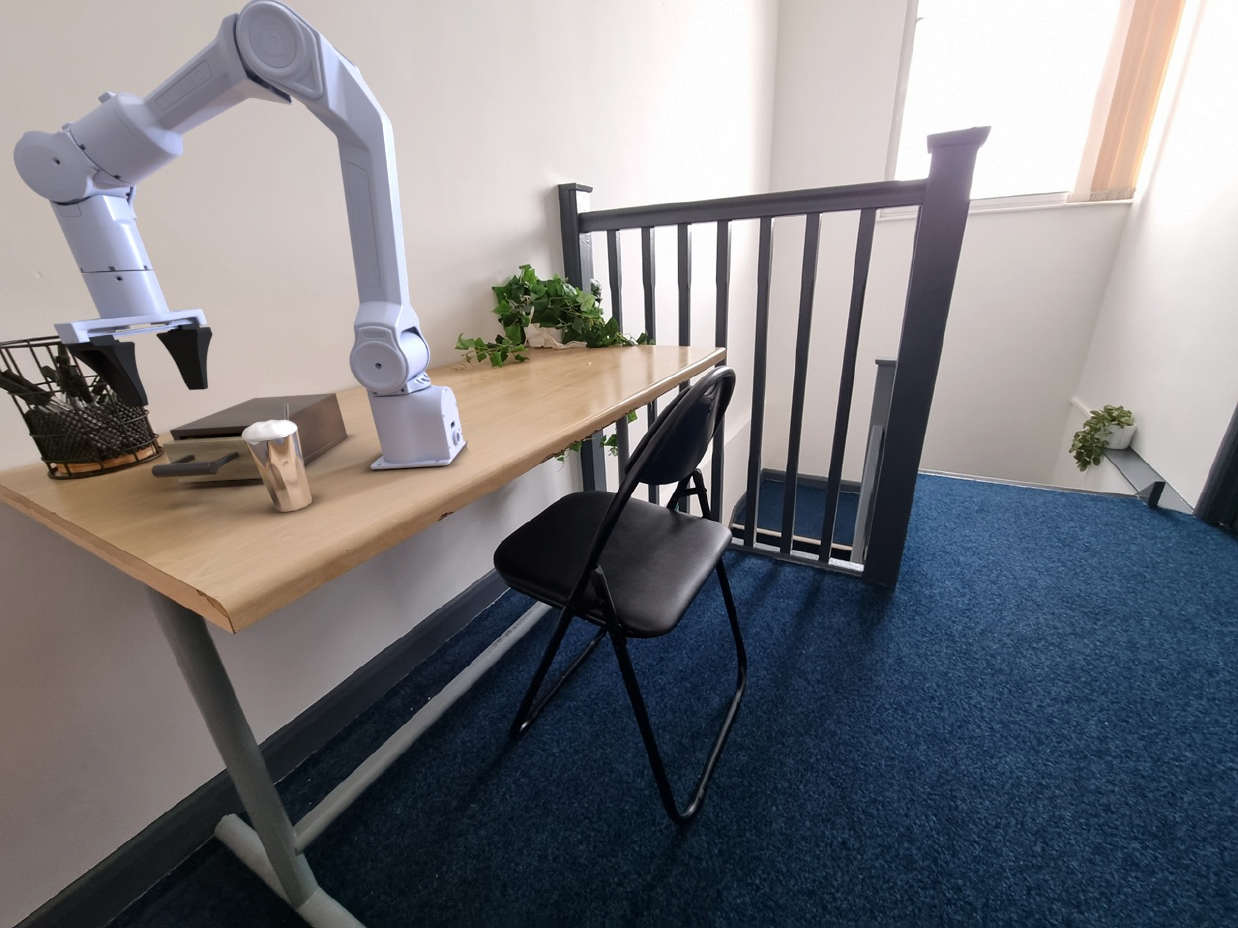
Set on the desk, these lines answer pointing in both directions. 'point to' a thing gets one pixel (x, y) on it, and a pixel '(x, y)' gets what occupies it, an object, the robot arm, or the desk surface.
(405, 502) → the desk surface
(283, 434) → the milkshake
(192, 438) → the drawer
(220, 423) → the cabinet
